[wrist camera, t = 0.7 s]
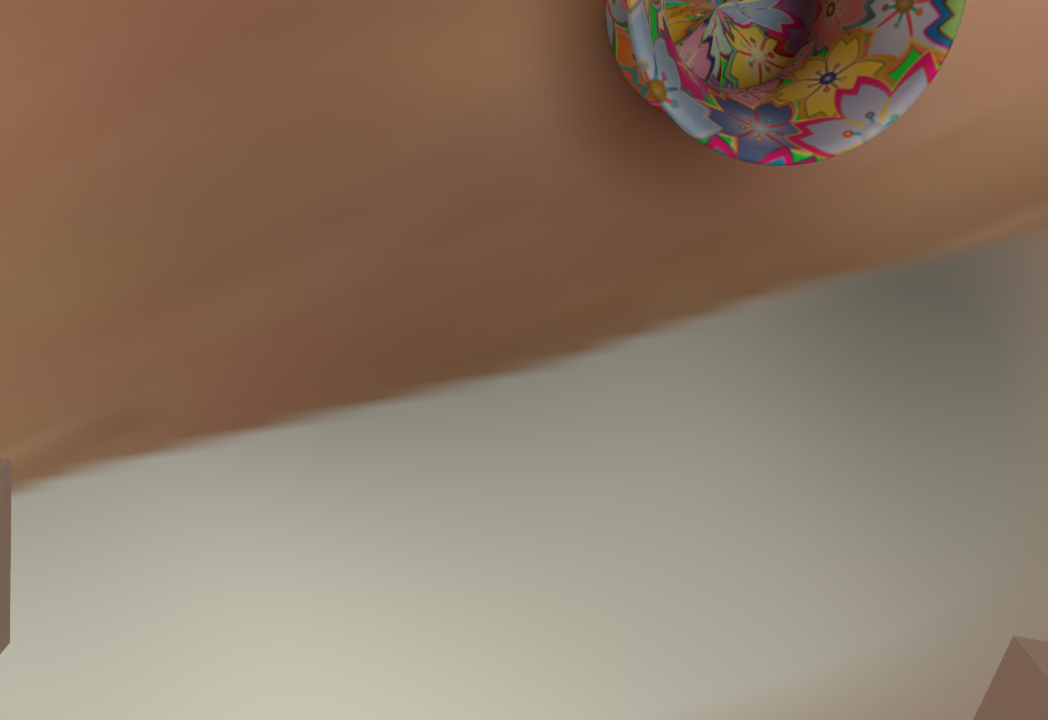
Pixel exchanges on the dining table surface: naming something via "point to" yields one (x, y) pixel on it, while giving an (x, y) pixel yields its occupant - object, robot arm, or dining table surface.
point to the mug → (782, 68)
